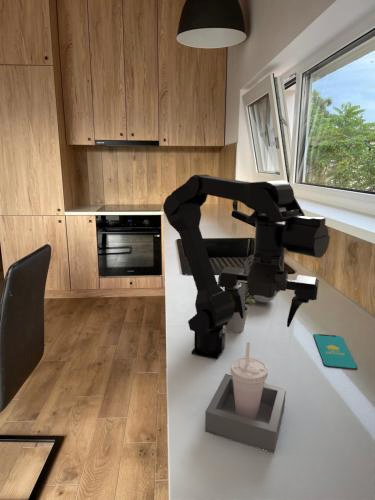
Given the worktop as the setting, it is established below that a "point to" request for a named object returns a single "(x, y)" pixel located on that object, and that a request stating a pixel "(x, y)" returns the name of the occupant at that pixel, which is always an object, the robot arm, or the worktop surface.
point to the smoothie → (248, 384)
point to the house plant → (238, 316)
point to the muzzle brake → (247, 268)
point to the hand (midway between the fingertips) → (264, 322)
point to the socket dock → (241, 428)
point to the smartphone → (334, 352)
